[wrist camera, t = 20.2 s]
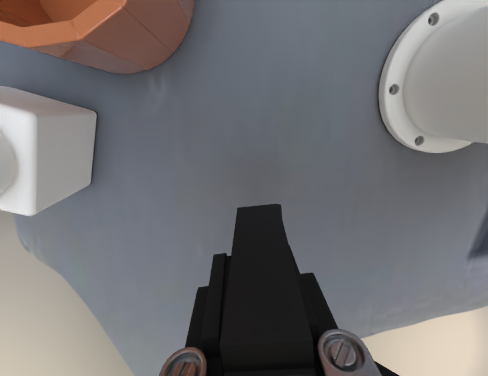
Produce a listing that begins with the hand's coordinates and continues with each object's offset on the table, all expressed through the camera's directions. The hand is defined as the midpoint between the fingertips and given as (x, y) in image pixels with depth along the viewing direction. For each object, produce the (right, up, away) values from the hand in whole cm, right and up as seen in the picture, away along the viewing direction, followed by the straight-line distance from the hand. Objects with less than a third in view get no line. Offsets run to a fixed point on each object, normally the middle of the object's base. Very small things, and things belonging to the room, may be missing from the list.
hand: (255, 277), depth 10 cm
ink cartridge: (+1, +1, +3) cm, 3 cm away
